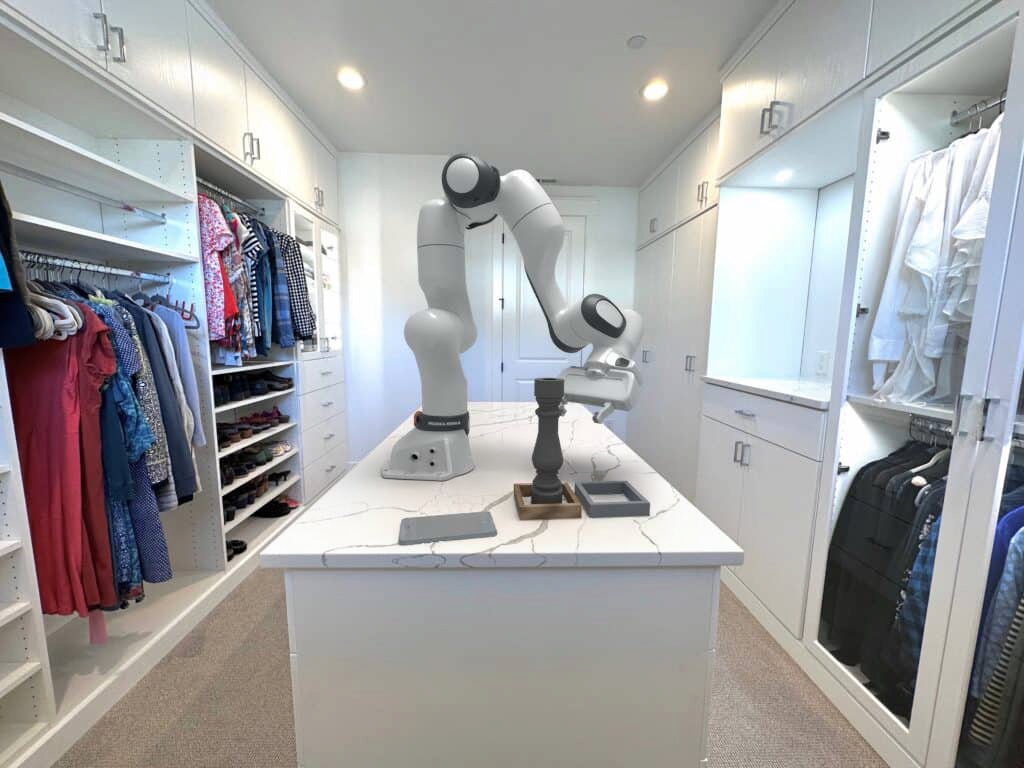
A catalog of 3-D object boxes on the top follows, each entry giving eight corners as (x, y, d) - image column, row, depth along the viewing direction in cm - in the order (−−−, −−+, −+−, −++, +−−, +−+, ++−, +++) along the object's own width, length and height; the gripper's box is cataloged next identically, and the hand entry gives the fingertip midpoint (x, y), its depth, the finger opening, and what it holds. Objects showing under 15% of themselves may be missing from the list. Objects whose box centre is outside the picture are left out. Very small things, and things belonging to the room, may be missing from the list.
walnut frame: (519, 520, 72) (519, 507, 71) (513, 495, 83) (513, 483, 82) (581, 518, 73) (581, 505, 72) (566, 493, 84) (567, 482, 84)
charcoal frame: (589, 517, 73) (590, 504, 72) (574, 493, 84) (574, 481, 84) (649, 515, 74) (650, 502, 74) (626, 491, 85) (626, 480, 85)
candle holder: (561, 513, 74) (564, 381, 71) (528, 510, 75) (530, 380, 72) (563, 500, 80) (566, 378, 77) (532, 497, 82) (535, 377, 78)
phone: (497, 539, 66) (497, 532, 66) (398, 549, 62) (397, 541, 62) (490, 517, 74) (490, 510, 74) (401, 525, 70) (401, 518, 70)
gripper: (561, 357, 94) (532, 402, 88) (642, 362, 80) (614, 416, 74) (571, 374, 98) (545, 419, 92) (650, 382, 83) (625, 435, 78)
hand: (576, 418), depth 83 cm, fingers open, 8 cm apart
